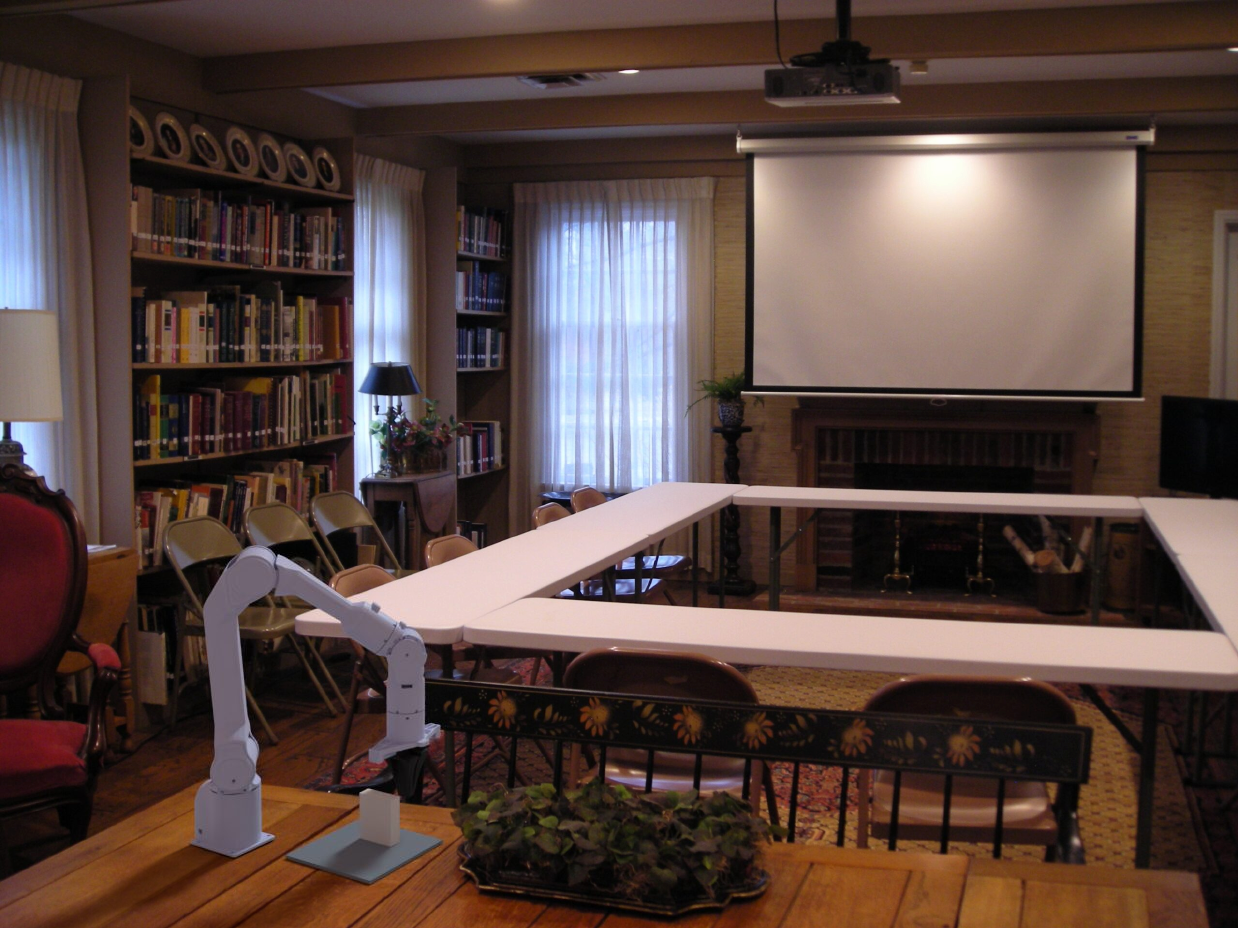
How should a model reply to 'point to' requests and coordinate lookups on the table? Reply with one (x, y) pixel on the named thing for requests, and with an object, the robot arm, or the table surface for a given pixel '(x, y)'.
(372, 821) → the block
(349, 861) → the mat
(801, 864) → the table surface
